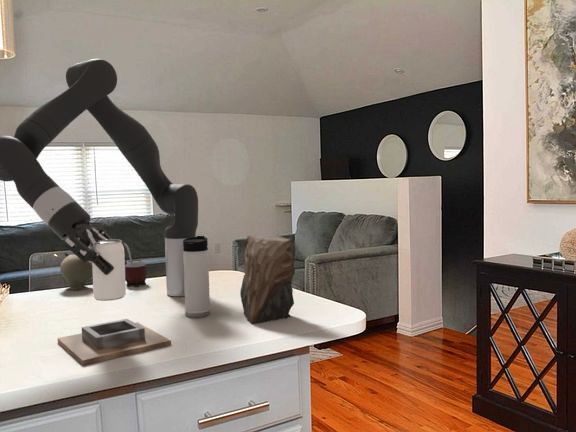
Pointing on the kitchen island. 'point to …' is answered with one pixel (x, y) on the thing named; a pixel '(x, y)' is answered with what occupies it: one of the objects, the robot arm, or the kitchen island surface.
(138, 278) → the mate gourd
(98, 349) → the mount
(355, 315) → the kitchen island surface
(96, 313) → the kitchen island surface
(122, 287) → the can
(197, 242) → the travel mug
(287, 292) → the brown rock
